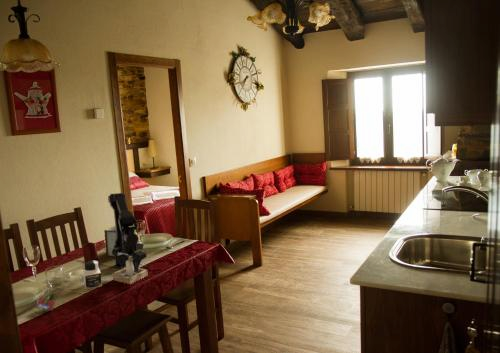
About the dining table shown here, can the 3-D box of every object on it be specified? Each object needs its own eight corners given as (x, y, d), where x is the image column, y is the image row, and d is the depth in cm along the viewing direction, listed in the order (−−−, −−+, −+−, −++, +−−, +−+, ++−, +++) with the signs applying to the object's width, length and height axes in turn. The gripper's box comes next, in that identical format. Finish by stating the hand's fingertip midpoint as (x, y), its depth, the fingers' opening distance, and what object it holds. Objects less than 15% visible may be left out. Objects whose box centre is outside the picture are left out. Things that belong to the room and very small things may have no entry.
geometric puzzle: (62, 301, 182) (49, 288, 180) (55, 309, 175) (42, 295, 174) (49, 311, 182) (37, 298, 181) (42, 319, 175) (29, 305, 174)
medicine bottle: (86, 289, 199) (84, 265, 197) (84, 284, 205) (82, 260, 203) (101, 286, 202) (100, 262, 200) (99, 281, 208) (97, 258, 206)
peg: (125, 279, 210) (124, 262, 208) (127, 276, 213) (126, 259, 212) (133, 279, 210) (132, 262, 208) (135, 276, 213) (133, 259, 212)
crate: (130, 284, 203) (129, 278, 203) (112, 279, 209) (112, 273, 209) (147, 276, 214) (147, 270, 213) (130, 271, 220) (130, 265, 219)
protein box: (137, 249, 254) (135, 224, 251) (119, 257, 240) (118, 231, 237) (123, 247, 258) (122, 222, 255) (105, 255, 244) (103, 229, 242)
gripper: (153, 238, 210) (155, 267, 213) (127, 232, 220) (128, 261, 222) (137, 244, 201) (138, 275, 204) (110, 238, 210) (112, 268, 213)
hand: (130, 269), depth 211 cm, fingers open, 9 cm apart
